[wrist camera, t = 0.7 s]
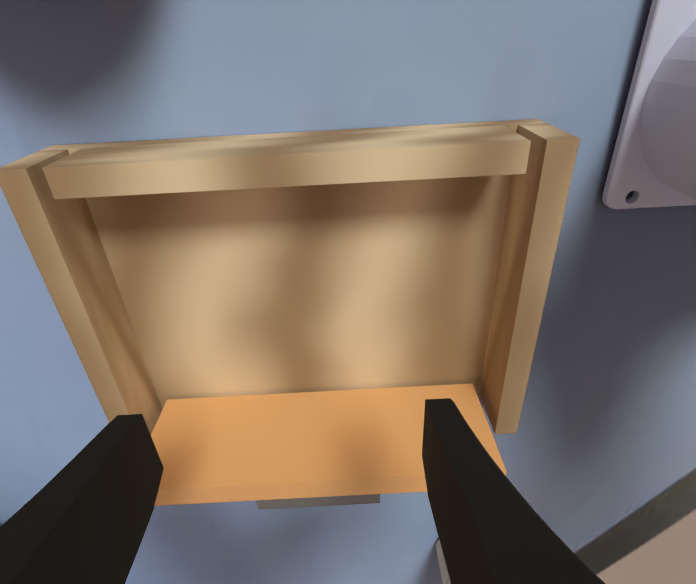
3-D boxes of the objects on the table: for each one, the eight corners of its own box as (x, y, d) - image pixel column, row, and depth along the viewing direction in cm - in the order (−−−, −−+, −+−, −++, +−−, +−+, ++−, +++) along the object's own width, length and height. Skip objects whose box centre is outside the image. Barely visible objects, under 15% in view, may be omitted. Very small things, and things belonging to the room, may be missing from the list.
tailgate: (472, 383, 22) (506, 471, 17) (469, 407, 23) (501, 496, 18) (166, 399, 22) (125, 491, 17) (175, 422, 23) (137, 515, 18)
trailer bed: (537, 118, 16) (579, 138, 14) (494, 383, 23) (516, 432, 20) (52, 145, 16) (-8, 170, 14) (149, 401, 23) (123, 453, 20)
